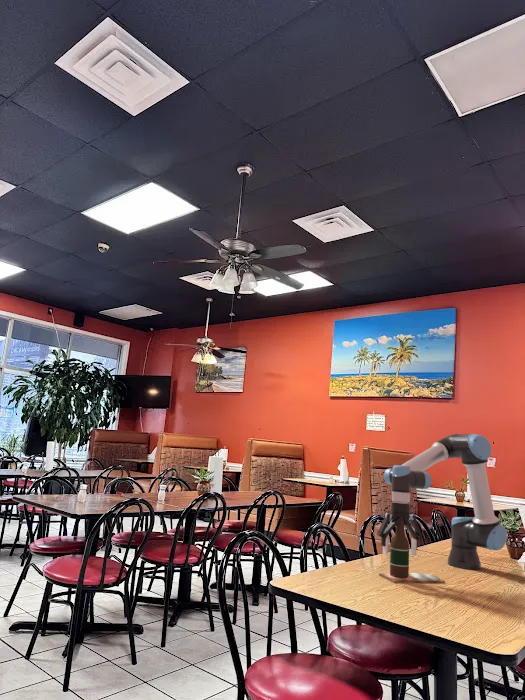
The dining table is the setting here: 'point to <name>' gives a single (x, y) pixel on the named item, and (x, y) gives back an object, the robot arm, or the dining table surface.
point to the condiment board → (413, 578)
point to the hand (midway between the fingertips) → (399, 554)
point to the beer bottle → (399, 553)
